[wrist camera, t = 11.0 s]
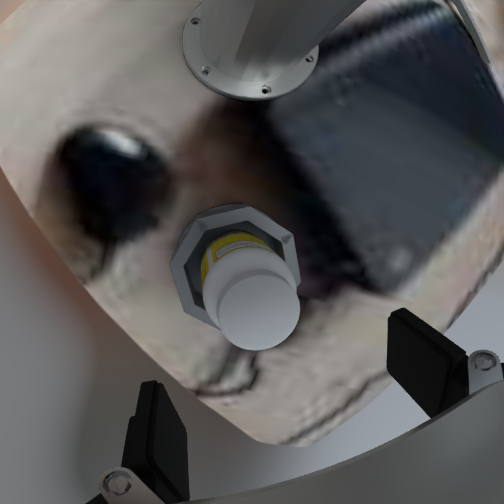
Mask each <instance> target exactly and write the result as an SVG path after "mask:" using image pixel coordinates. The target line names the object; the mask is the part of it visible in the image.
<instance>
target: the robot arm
mask: <svg viewBox="0 0 504 504" xmlns="http://www.w3.org/2000/svg"><path fill="white" fill-rule="evenodd" d="M365 1H366V0H202V3H201V4H200V5H198V6H197V7H196V8H195V9H194V11H193V12H192V13H191V15H190V16H189V17H188V19H187V22H186V24H185V26H184V30H183V36H182V45H183V51H184V56H185V59H186V61H187V63H188V66H189V68H190V69H191V70H192V72H193V73H194V74H195V76H196V77H197V78H198V79H199V80H200V81H202V82H203V83H204V84H205V85H206V86H208V87H209V88H211V89H213V90H214V91H216V92H218V93H220V94H223V95H225V96H228V97H231V98H235V99H239V100H247V101H262V100H270V99H274V98H278V97H281V96H283V95H285V94H288V93H290V92H292V91H293V90H295V89H296V88H297V87H299V86H300V85H301V84H302V83H303V82H304V81H305V80H306V79H307V78H308V77H309V76H310V74H311V73H312V71H313V70H314V68H315V65H316V63H317V60H318V52H319V46H318V44H319V43H320V42H321V41H322V40H323V39H324V38H325V37H326V36H327V35H328V34H329V33H330V32H331V31H332V30H334V29H335V28H336V27H337V26H338V25H339V24H340V23H341V22H342V21H343V20H344V19H345V18H347V17H348V16H349V15H350V14H351V13H352V12H353V11H354V10H356V9H357V8H358V7H359V6H360V5H361V4H362V3H364V2H365ZM193 24H197V25H193ZM306 60H307V61H308V62H307V61H306ZM205 71H206V72H208V75H204V74H203V72H205ZM262 90H265V91H266V92H267V94H264V93H262ZM387 370H388V372H389V374H390V375H391V376H392V377H393V378H394V379H395V380H396V381H397V382H398V383H399V384H400V385H401V386H402V387H403V389H404V390H405V391H406V392H407V393H408V394H409V395H410V396H411V397H412V398H413V399H414V401H415V402H416V403H417V404H418V405H419V406H420V407H421V408H422V409H423V410H424V411H425V413H426V414H427V415H428V416H429V417H430V418H431V419H429V420H428V421H426V422H424V423H422V424H421V425H419V426H417V427H415V428H414V429H412V430H410V431H408V432H406V433H404V434H402V435H400V436H398V437H396V438H394V439H392V440H390V441H388V442H386V443H384V444H382V445H380V446H378V447H376V448H374V449H371V450H369V451H367V452H365V453H362V454H360V455H358V456H355V457H353V458H351V459H348V460H346V461H343V462H340V463H338V464H335V465H332V466H330V467H327V468H324V469H322V470H319V471H315V472H313V473H310V474H306V475H304V476H300V477H297V478H294V479H290V480H287V481H283V482H280V483H276V484H272V485H269V486H265V487H260V488H256V489H252V490H247V491H242V492H238V493H233V494H228V495H223V496H217V497H211V498H205V499H199V500H193V501H189V499H190V494H189V478H188V477H189V476H188V452H187V432H186V429H185V426H184V425H183V423H182V421H181V419H180V417H179V415H178V413H177V411H176V410H175V408H174V406H173V404H172V402H171V400H170V398H169V396H168V394H167V392H166V389H165V388H164V385H163V384H162V383H158V382H157V381H156V380H153V381H147V382H142V383H141V387H140V392H139V398H138V402H137V408H136V413H135V416H132V417H131V418H130V420H129V424H128V429H127V434H126V440H125V446H124V452H123V458H122V464H121V467H117V468H113V469H111V470H108V471H107V472H106V473H104V474H103V475H102V477H101V478H100V480H99V490H100V492H101V493H100V494H99V495H97V496H96V497H95V498H93V499H92V500H91V501H89V502H88V503H86V504H504V363H500V359H499V357H498V356H497V355H496V354H495V353H494V352H492V351H488V350H478V351H475V352H473V353H472V354H471V355H470V356H469V357H468V356H467V355H466V351H464V350H463V349H462V348H460V347H459V346H458V345H456V344H455V343H454V342H452V341H451V340H449V339H448V338H447V337H445V336H444V335H442V334H441V333H440V332H438V331H437V330H436V329H434V328H433V327H431V326H430V325H429V324H427V323H426V322H424V321H423V320H421V319H420V318H419V317H417V316H416V315H414V314H413V313H412V312H410V311H409V310H407V309H406V308H400V309H398V310H395V311H393V312H392V313H391V314H390V317H388V340H387Z"/></svg>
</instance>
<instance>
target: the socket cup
mask: <svg viewBox="0 0 504 504" xmlns="http://www.w3.org/2000/svg"><path fill="white" fill-rule="evenodd" d="M235 229H237V230H245V231H248V232H251V233H253V234H254V235H256V236H258V237H259V238H260V239H261V240H262V241H263V242H264V243H265V244H267V245H268V246H269V247H270V248H271V249H272V250H273V251H274V252H275V253H276V254H277V255H278V256H280V257H281V258H282V259H283V260H284V261H285V262H286V264H287V265H288V267H289V268H290V270H291V271H292V274H293V276H294V279H295V283H296V288H297V287H298V285H299V284H300V282H301V279H300V273H299V267H298V261H297V255H296V249H295V244H294V238H293V234H292V233H291V232H289V231H287V230H286V229H284V228H283V227H281V226H280V225H278V224H276V223H275V222H274V221H273V220H272V219H271V218H270V217H269V216H267V215H266V214H264V213H263V212H261V211H259V210H257V209H255V208H252V207H250V206H249V205H247V204H245V203H243V204H226V205H220V206H217V207H213V208H211V209H209V210H206V211H204V212H203V213H201V214H197V215H196V217H195V218H194V219H193V220H192V221H191V222H190V224H189V225H188V226H187V227H186V229H185V230H184V232H183V233H182V235H181V237H180V239H179V242H178V245H177V248H176V250H175V252H174V254H173V255H172V259H171V262H170V267H171V271H172V274H173V277H174V281H175V284H176V287H177V290H178V294H179V297H180V300H181V303H182V306H183V309H184V312H186V313H187V314H189V315H191V316H193V317H195V318H197V319H199V320H201V321H203V322H205V323H207V324H209V325H211V326H213V327H215V328H217V329H219V330H221V329H220V328H219V327H218V326H217V325H216V324H215V323H214V322H213V321H212V320H211V318H210V317H209V315H208V313H207V311H206V309H205V306H204V302H203V294H202V280H201V257H202V254H203V251H204V249H205V247H206V246H207V244H208V243H209V242H210V241H211V240H212V239H213V238H214V237H215V236H217V235H218V234H220V233H222V232H225V231H228V230H235ZM221 331H222V330H221Z"/></svg>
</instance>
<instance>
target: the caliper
mask: <svg viewBox="0 0 504 504" xmlns="http://www.w3.org/2000/svg"><path fill="white" fill-rule="evenodd" d="M453 2H454V4H455V6H456V7H457V9H458V11H459V13H460V14H461V16H462V18H463V20H464V22H465V24H466V26H467V28H468V30H469V32H470V34H471V36H472V38H473V41H474V43H475V45H476V47H477V50H478V52H479V54H480V56H481V58H482V59H483V61H484V63H486V65H487V68H488V70H489V71H490V70H491V69H492V66H491V62H492V60H491V57H490V55H489V52H488V50H487V47H486V45H485V43H484V40H483V38H482V36H481V34H480V32H479V30H478V28H477V25H476V23H475V21H474V19H473V17H472V16H471V14H470V12H469V10H468V8H467V6H466V4H465V3H464V1H463V0H453Z"/></svg>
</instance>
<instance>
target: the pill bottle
mask: <svg viewBox="0 0 504 504" xmlns="http://www.w3.org/2000/svg"><path fill="white" fill-rule="evenodd" d="M201 280H202V294H203V302H204V306H205V309H206V311H207V313H208V315H209V317H210V318H211V320H212V321H213V322H214V323H215V324H216V325H217V326H218V327H219V328H220V329H221V330H222V332H223V334H224V335H225V337H226V338H227V339H228V340H229V341H230V342H232V343H233V344H234V345H236V346H238V347H241V348H243V349H248V350H263V349H267V348H271V347H273V346H275V345H277V344H279V343H280V342H282V341H283V340H285V339H286V338H287V337H288V336H289V335H290V334H291V332H292V331H293V329H294V328H295V326H296V324H297V322H298V319H299V314H300V304H299V299H298V296H297V294H296V283H295V279H294V276H293V274H292V271H291V270H290V268H289V267H288V265H287V264H286V262H285V261H284V260H283V259H282V258H281V257H280V256H278V255H277V254H276V253H275V252H274V251H273V250H272V249H271V248H270V247H269V246H268V245H267V244H265V243H264V242H263V241H262V240H261V239H260V238H259V237H258V236H256V235H254V234H253V233H251V232H248V231H245V230H237V229H235V230H228V231H225V232H222V233H220V234H218V235H217V236H215V237H214V238H213V239H212V240H211V241H210V242H209V243H208V244H207V246H206V247H205V249H204V251H203V254H202V257H201Z"/></svg>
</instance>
